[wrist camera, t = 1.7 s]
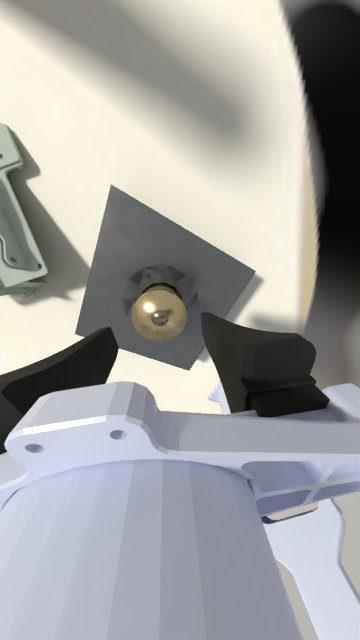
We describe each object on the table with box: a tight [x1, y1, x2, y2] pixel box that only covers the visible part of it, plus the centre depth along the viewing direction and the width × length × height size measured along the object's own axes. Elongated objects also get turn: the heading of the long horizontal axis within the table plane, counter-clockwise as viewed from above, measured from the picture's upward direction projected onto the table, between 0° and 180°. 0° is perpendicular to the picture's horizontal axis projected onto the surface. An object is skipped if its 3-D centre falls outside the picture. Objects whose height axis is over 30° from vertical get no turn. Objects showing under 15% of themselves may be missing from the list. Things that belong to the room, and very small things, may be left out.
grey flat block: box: [75, 185, 256, 370], centre depth 19 cm, size 16×16×4 cm
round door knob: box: [132, 282, 187, 341], centre depth 17 cm, size 5×5×7 cm
